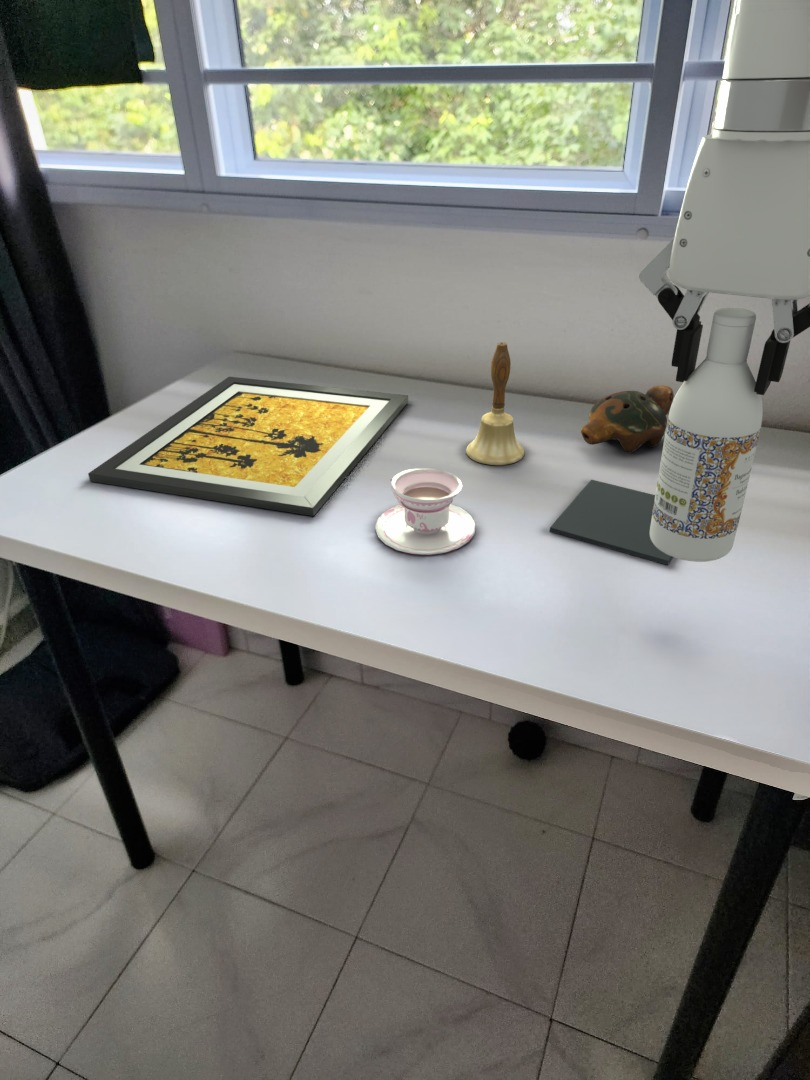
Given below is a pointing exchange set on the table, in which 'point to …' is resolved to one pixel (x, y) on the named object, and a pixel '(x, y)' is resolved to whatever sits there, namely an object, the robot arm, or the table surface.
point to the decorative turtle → (630, 418)
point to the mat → (612, 520)
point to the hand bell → (497, 420)
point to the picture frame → (257, 444)
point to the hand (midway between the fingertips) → (723, 380)
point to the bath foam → (709, 447)
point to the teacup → (425, 513)
